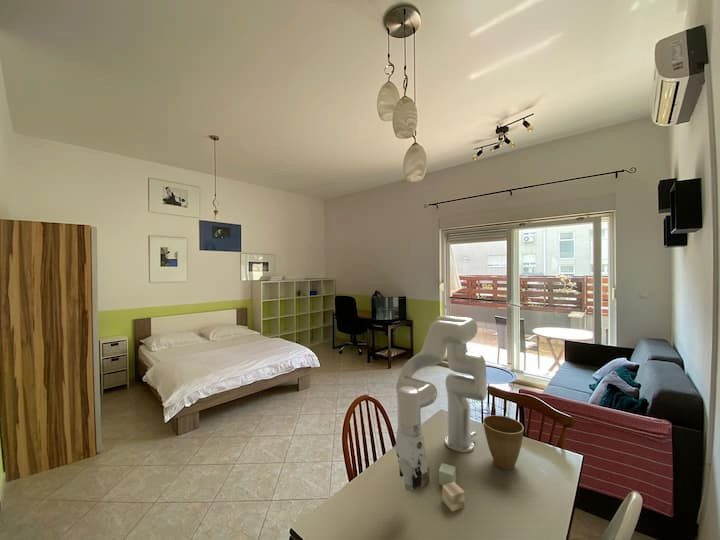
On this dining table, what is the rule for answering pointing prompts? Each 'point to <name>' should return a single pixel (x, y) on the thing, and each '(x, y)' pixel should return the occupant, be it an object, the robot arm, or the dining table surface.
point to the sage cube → (447, 474)
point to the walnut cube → (425, 477)
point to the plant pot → (503, 439)
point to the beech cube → (453, 496)
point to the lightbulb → (407, 474)
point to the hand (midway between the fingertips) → (410, 480)
